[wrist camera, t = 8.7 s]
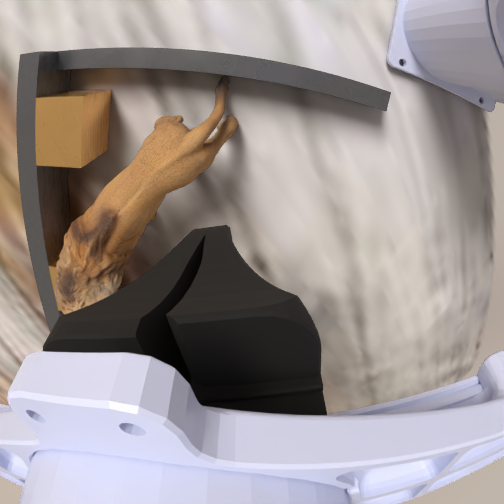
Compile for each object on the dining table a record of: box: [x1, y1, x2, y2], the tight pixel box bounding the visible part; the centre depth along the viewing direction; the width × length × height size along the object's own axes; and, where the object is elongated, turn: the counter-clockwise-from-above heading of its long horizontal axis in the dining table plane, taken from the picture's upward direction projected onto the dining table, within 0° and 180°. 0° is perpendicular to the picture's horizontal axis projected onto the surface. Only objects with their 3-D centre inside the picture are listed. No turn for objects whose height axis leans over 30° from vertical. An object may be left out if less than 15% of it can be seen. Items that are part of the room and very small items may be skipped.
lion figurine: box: [55, 75, 238, 314], centre depth 16 cm, size 15×5×9 cm, turn 144°
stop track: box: [17, 48, 391, 332], centre depth 20 cm, size 21×20×4 cm
